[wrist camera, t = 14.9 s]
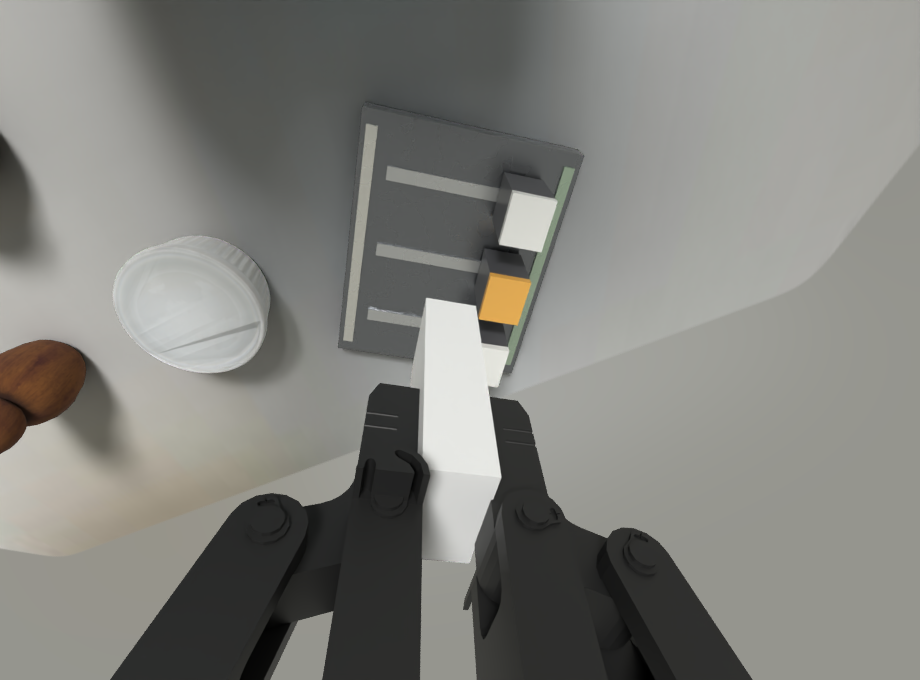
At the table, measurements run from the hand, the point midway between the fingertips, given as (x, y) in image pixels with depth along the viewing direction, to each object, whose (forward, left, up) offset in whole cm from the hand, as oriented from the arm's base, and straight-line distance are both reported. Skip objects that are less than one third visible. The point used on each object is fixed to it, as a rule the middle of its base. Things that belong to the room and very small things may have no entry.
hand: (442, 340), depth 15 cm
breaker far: (+6, -14, -24) cm, 29 cm away
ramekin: (-16, -15, -27) cm, 35 cm away
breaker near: (+7, -2, -24) cm, 25 cm away
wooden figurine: (-30, -25, -27) cm, 48 cm away
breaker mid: (+7, -8, -24) cm, 26 cm away
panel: (+2, -8, -26) cm, 28 cm away
